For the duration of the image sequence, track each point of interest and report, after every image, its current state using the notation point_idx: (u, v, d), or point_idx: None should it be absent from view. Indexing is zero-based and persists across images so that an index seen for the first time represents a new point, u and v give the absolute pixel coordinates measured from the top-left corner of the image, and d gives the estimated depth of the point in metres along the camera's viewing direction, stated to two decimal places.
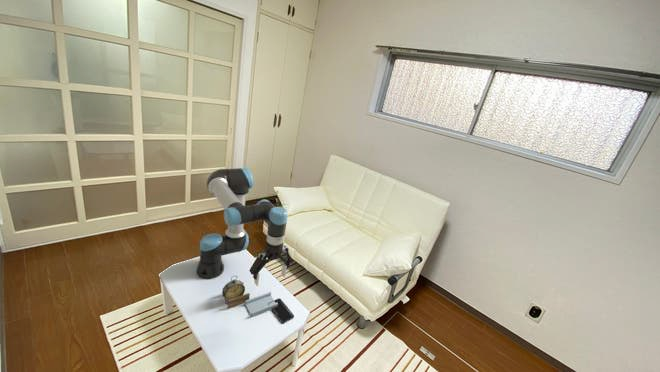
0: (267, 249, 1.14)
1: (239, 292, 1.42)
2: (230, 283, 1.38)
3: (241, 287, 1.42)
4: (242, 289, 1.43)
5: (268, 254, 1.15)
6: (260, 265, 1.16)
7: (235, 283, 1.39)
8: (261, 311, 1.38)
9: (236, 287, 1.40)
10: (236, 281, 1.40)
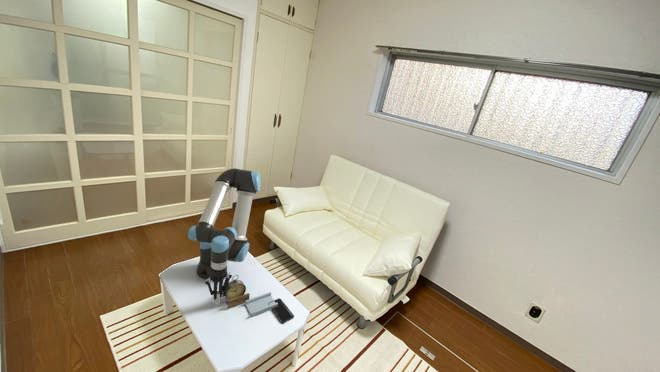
0: (211, 273, 1.28)
1: (240, 292, 1.42)
2: (231, 283, 1.39)
3: (242, 287, 1.42)
4: (243, 289, 1.43)
5: (212, 278, 1.29)
6: (214, 288, 1.33)
7: (236, 283, 1.39)
8: (261, 311, 1.38)
9: (237, 287, 1.40)
10: (237, 281, 1.41)
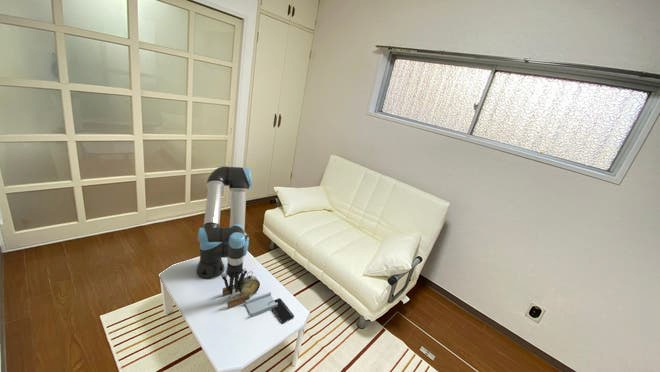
0: (228, 268, 1.33)
1: (254, 288, 1.47)
2: (246, 279, 1.43)
3: (256, 283, 1.47)
4: (257, 285, 1.47)
5: (228, 273, 1.34)
6: (230, 283, 1.37)
7: (251, 279, 1.43)
8: (261, 311, 1.38)
9: (251, 283, 1.45)
10: (251, 277, 1.45)
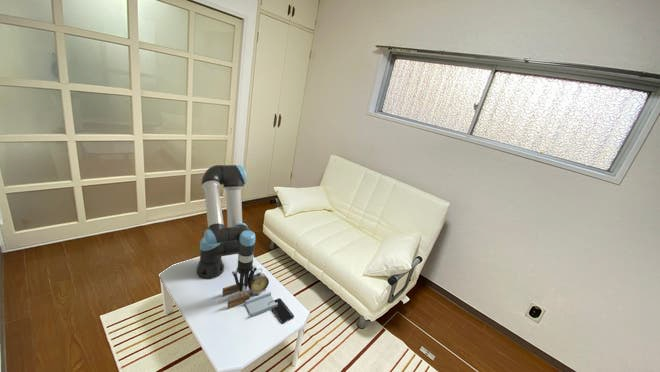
0: (238, 266, 1.36)
1: (263, 285, 1.50)
2: (255, 276, 1.47)
3: (265, 280, 1.50)
4: (266, 282, 1.51)
5: (239, 270, 1.37)
6: (240, 280, 1.41)
7: (260, 276, 1.47)
8: (261, 311, 1.38)
9: (261, 280, 1.48)
10: (261, 274, 1.49)
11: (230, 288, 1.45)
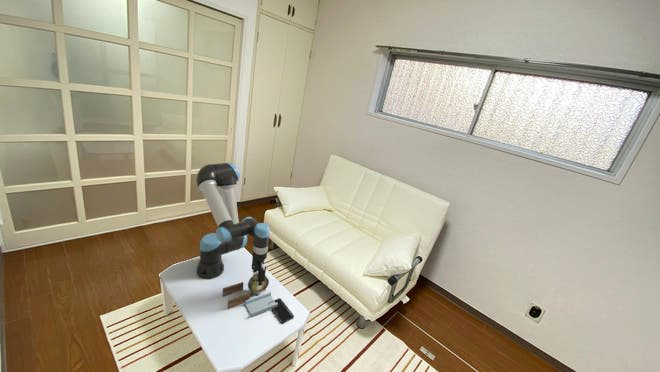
0: None
1: (263, 285, 1.50)
2: (255, 276, 1.47)
3: (265, 280, 1.50)
4: (266, 282, 1.51)
5: None
6: None
7: None
8: (261, 311, 1.38)
9: None
10: None
11: (230, 288, 1.45)
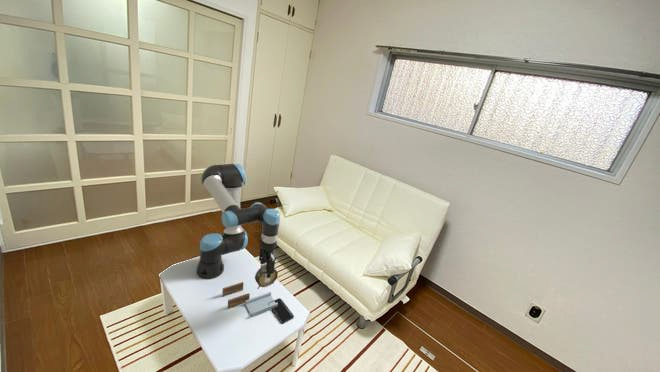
0: None
1: (271, 277, 1.37)
2: (263, 268, 1.33)
3: (274, 272, 1.37)
4: (275, 275, 1.38)
5: None
6: None
7: None
8: (261, 311, 1.38)
9: None
10: None
11: (230, 288, 1.45)
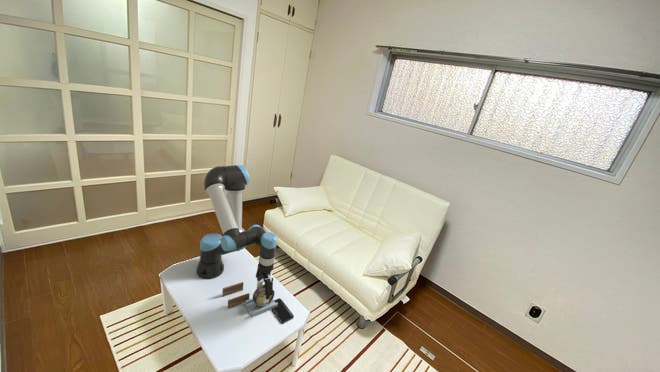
0: None
1: (269, 297, 1.42)
2: (260, 288, 1.39)
3: None
4: None
5: None
6: None
7: None
8: (261, 311, 1.38)
9: None
10: None
11: (230, 288, 1.45)
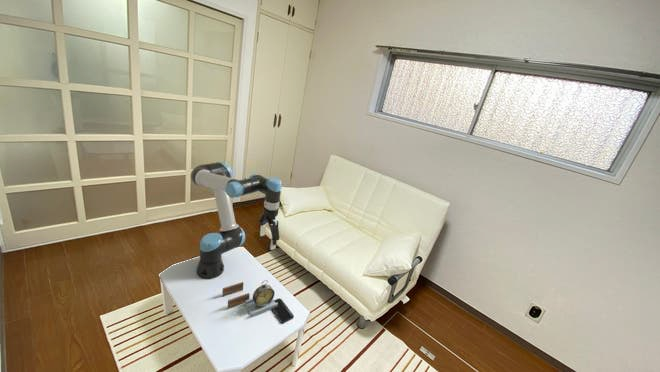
0: None
1: (269, 297, 1.42)
2: (260, 288, 1.39)
3: (271, 292, 1.42)
4: (272, 294, 1.43)
5: None
6: None
7: (265, 288, 1.39)
8: (261, 311, 1.38)
9: (266, 292, 1.40)
10: (266, 286, 1.40)
11: (230, 288, 1.45)
